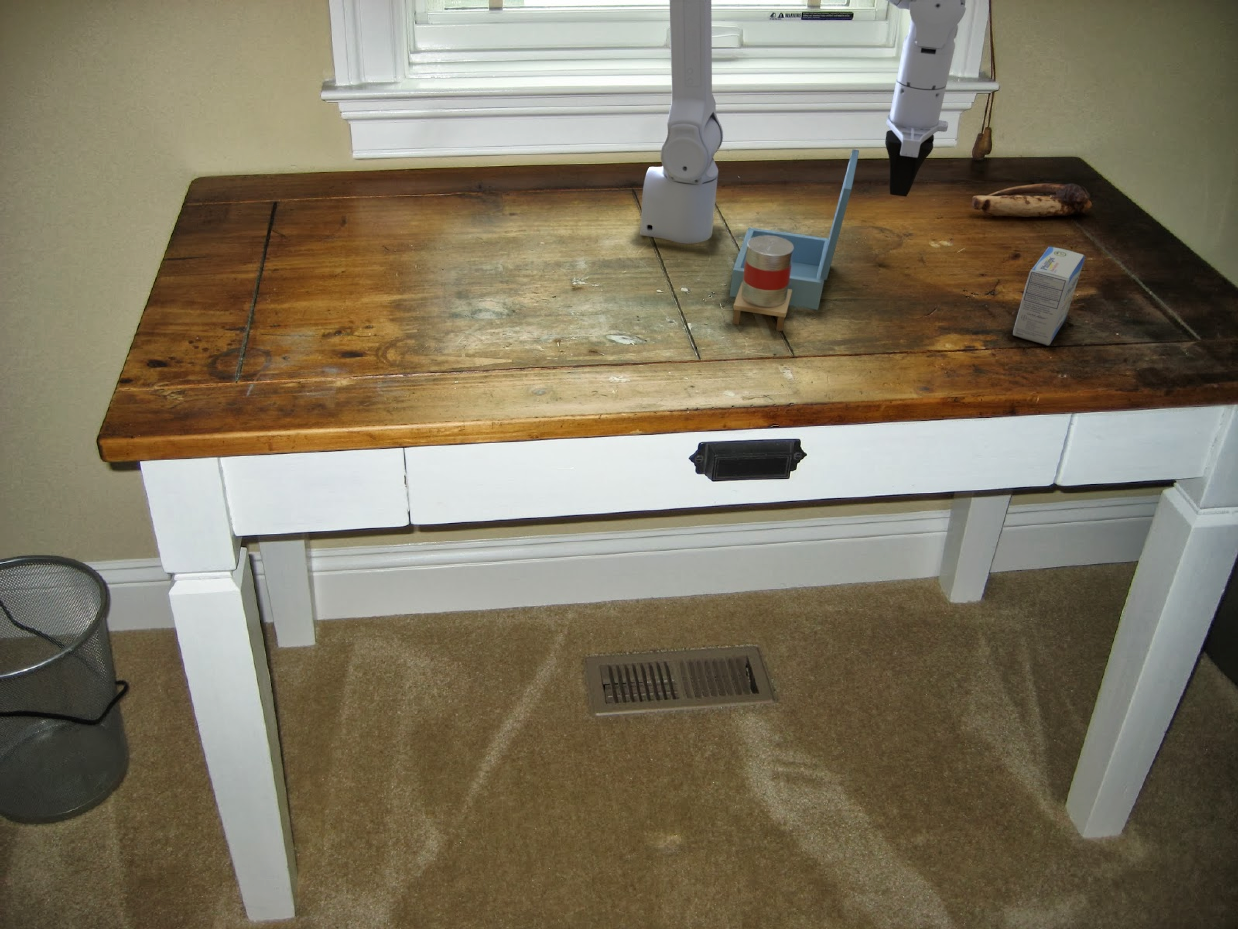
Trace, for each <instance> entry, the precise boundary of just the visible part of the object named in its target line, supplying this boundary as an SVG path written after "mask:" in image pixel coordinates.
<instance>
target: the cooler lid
mask: <svg viewBox="0 0 1238 929" xmlns="http://www.w3.org/2000/svg"><path fill="white" fill-rule="evenodd" d="M859 154H860V150H859V149H855V148H853V149H851V154H850V157H849V160H848V165H847V169H846V172H845V176H844V179H843V184H842V187H841V191H840V194H839V198H838V201H837V206H836V210H835V212H834V218H833V221H832V225H831V228H830V232H829V236H828V239H829V240H828V244H827V249H826V253H825V258H824V262H823V267H822V271H821V275H820V279H824V281H827V280H828V276H829V272H830V269H831V266H832V265H831V264H832V262H833V258H834V255H835V252H836V247H837V244H838V240H839V237H840V232H841V229H842V226H843V222H844V218H845V215H846V210H847V207H848V205H849V204H848V203H849V200H850V197H851V192H852V189H853V183H854V179H855V174H856V170H857V169H856V168H857V163H858V158H859Z"/></svg>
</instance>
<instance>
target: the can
mask: <svg viewBox="0 0 1238 929" xmlns="http://www.w3.org/2000/svg"><path fill="white" fill-rule="evenodd" d="M793 252H794V246H793V244H792V243H791V242H790V241H788V240H786V239H784V238H781V237H777V236H770V235H763V236H756V237H753V238H751V239H750V240H749V241H748V244H747V252H746V259H745V267H744V275H743V284H742V293H741V296H742V298H743V299H744V300H745V301H746V302H747V303H749V304H752V305H754V306H758V307H777V306H780V305H782V304H784V303H785V301H786V298H787V292H788V285H789V280H790V273H791V266H792V258H793Z"/></svg>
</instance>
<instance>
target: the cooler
mask: <svg viewBox="0 0 1238 929" xmlns="http://www.w3.org/2000/svg"><path fill="white" fill-rule="evenodd" d="M763 235H770V236H777V237H781V238H784V239H786V240H788V241H790V242H791V243H792V244H793V246H794V252H793V258H792V266H791V273H790V280H789V285H788V289H791V290H792V295H791V298H790V302H789V306H788V307H794V308H795V307H796V308H803V309H809V310H816V311H818V310H819V307H820V301H821V298H822V292H823V288H824V283H825V280H824V279H820V275H821V271H822V267H823V262H824V258H825V253H826V249H827V244H828V240H829V237H827V238H826V237H819V236H813V235H807V234H806V235H805V234H799V233H792V232H784V231H777V230H772V229H771V230H770V229H764V228H756V227H751V226H750V227H749V226H748V227H747V231H746V233H745V236H744V238H743V241H742V244H741V247H740V249H739V252H738V254H737V257H736V259H735V261H734V265H733V268H732V272H731V273H732V274H731V280H730V283H731V284H730V290H729V297H730V298H731V297H732V298H736V297H737V294H738V291H739V289H740V286H741V283H742V282H743V275H744V267H745V259H746V252H747V244H748V241H749V240H750V239H751V238H753V237H756V236H763Z"/></svg>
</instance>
